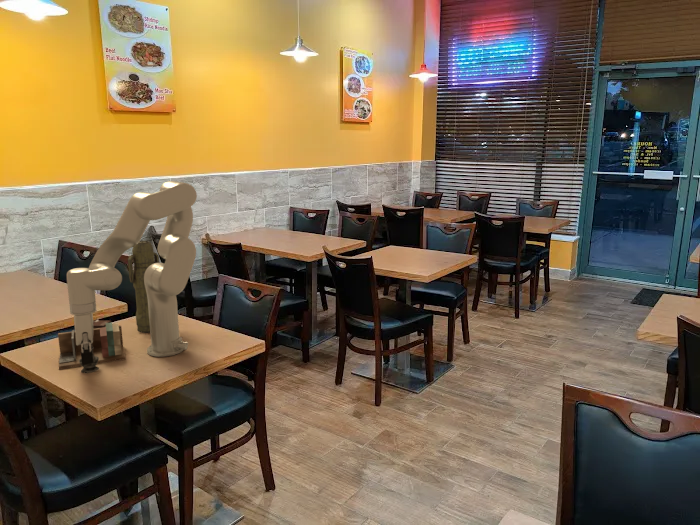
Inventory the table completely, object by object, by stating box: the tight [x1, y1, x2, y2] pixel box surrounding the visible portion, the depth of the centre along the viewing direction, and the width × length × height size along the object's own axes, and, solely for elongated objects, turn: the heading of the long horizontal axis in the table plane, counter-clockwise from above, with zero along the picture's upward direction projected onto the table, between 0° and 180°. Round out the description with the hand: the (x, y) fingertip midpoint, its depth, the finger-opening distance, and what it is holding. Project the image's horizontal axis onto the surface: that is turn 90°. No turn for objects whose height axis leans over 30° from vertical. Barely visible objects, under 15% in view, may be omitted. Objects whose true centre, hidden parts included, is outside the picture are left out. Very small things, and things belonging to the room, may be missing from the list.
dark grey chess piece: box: [79, 341, 100, 374], centre depth 174 cm, size 6×6×12 cm
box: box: [93, 320, 112, 329], centre depth 199 cm, size 6×6×7 cm
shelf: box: [57, 322, 126, 370], centre depth 184 cm, size 20×13×10 cm, turn 116°
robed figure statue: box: [127, 240, 160, 334], centre depth 209 cm, size 9×12×35 cm
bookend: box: [58, 329, 76, 365], centre depth 181 cm, size 5×9×8 cm, turn 26°
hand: (87, 358), depth 174 cm, fingers open, 9 cm apart
